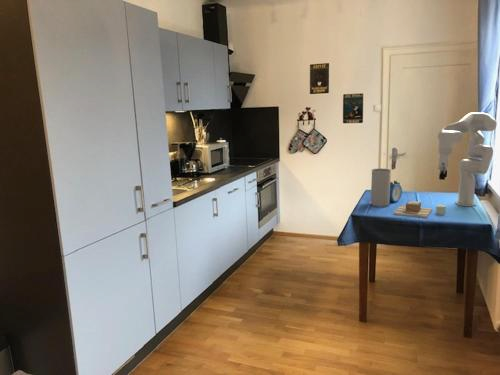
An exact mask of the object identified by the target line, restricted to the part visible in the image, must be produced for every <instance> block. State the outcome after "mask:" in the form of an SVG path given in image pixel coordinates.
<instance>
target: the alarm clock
mask: <svg viewBox="0 0 500 375" xmlns="http://www.w3.org/2000/svg"><path fill="white" fill-rule="evenodd" d="M400 183H401V182H399V181H398V180H394V181H390V199H389V202H392V203H398V202H399V201H400V200H401V198H402V194H403V189H402V186H401V184H400Z"/></svg>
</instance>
